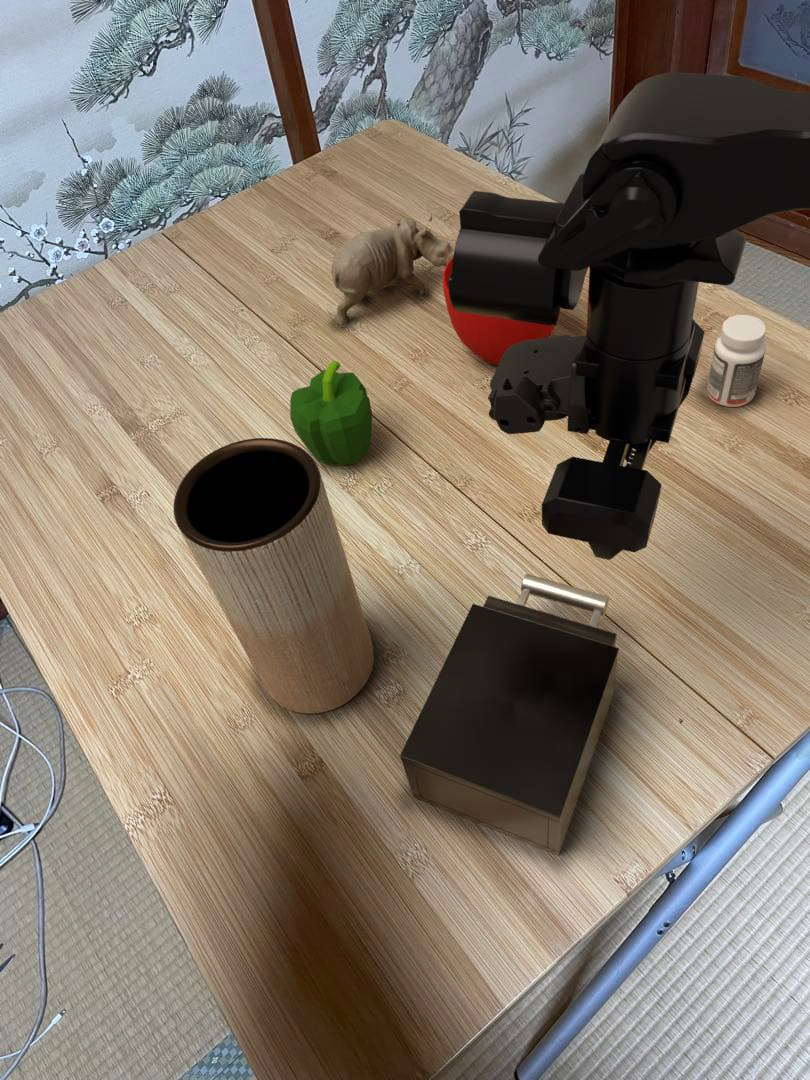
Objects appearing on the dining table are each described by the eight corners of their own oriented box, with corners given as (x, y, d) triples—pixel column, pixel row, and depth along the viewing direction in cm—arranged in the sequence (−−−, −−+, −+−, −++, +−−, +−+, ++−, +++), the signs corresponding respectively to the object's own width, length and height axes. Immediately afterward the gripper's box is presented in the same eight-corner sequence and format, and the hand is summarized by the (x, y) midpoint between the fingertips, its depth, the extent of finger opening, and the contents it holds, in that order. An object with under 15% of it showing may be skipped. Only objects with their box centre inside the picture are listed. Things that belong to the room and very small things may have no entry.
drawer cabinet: (478, 653, 71) (472, 603, 65) (612, 696, 67) (619, 647, 61) (412, 797, 64) (399, 755, 58) (558, 855, 60) (560, 817, 54)
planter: (354, 725, 68) (288, 559, 51) (244, 703, 71) (145, 537, 54) (388, 624, 74) (340, 443, 57) (285, 607, 77) (208, 429, 59)
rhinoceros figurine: (299, 284, 104) (351, 177, 95) (391, 309, 112) (447, 211, 103) (315, 324, 100) (371, 215, 91) (409, 346, 108) (469, 248, 98)
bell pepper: (341, 490, 85) (321, 418, 77) (289, 455, 89) (265, 384, 81) (398, 443, 88) (384, 369, 80) (345, 411, 92) (327, 338, 85)
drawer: (509, 594, 73) (507, 554, 69) (626, 629, 70) (632, 589, 65) (433, 762, 65) (425, 729, 60) (563, 812, 61) (564, 781, 56)
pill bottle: (760, 384, 87) (777, 317, 80) (746, 413, 84) (763, 347, 78) (714, 372, 89) (727, 307, 82) (699, 401, 86) (712, 336, 80)
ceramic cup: (616, 343, 94) (623, 265, 86) (484, 400, 91) (478, 325, 83) (554, 287, 101) (555, 211, 94) (431, 338, 98) (421, 263, 91)
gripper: (545, 224, 55) (544, 401, 67) (448, 415, 45) (468, 583, 57) (721, 241, 51) (687, 425, 63) (660, 453, 41) (633, 624, 53)
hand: (618, 507), depth 59 cm, fingers open, 9 cm apart
